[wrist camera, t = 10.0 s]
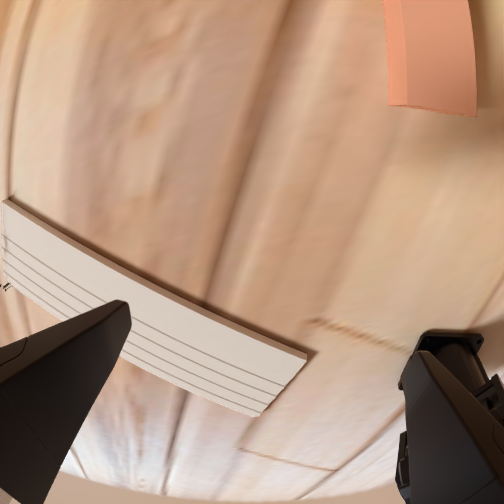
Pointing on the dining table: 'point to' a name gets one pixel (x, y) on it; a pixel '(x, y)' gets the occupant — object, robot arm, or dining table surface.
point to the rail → (431, 55)
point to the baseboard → (147, 318)
